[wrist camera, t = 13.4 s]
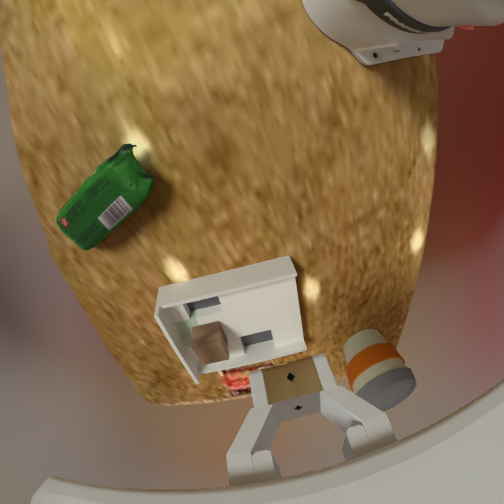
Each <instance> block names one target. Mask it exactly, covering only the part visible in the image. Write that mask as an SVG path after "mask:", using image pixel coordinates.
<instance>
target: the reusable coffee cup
mask: <svg viewBox="0 0 504 504" xmlns="http://www.w3.org/2000/svg"><path fill="white" fill-rule="evenodd" d="M343 353H344V357H345V360H346V364H347V368H346V372H347V376H348V380H349V384H350V388H351V390H352V391H353V392H354V394H356V395H357V396H359V397H360V398H362V399H363V400H365V401H367V402H368V403H370V404H371V405H373V406H375V407H376V408H378V409H379V410H381V411H382V412H384V411H386V410H388V409H390V408H392V407H394V406H396V405H397V404H399V403H400V402H402V401H403V400H404V399H406V398H407V397H408V396H409V395H410V394H411V393H412V392H413V391H414V389H415V387H416V380H415V378H414V375H413V373H412V370H411V369H409V368H407V367H406V365H405V362H404V359H403V358H402V357H401V356H400V354H399V353H398V352H397V350H396V349H395V348H394V347H393V346H392V344H390V343H388V342H387V341H386V340H385V339H384V337H383V336H382V335H381V334H380V332H379V331H378V330H376V329H366V330H362V331H360V332H358V333H356V334H355V335H353V336H352V337H351V338H349V339H348V341H347V342H346V343H345V345H344V347H343Z"/></svg>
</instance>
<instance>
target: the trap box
mask: <svg viewBox="0 0 504 504" xmlns="http://www.w3.org/2000/svg"><path fill="white" fill-rule="evenodd" d="M296 276H297V272H296V270H295V268H294V265H293V263H292V261H291V259H290V256H289V255H288V256H284V257H280V258H276V259H272V260H268V261H264V262H260V263H256V264H252V265H248V266H244V267H240V268H236V269H232V270H228V271H224V272H220V273H216V274H212V275H208V276H203V277H199V278H195V279H191V280H187V281H183V282H179V283H175V284H171V285H166V286H162V287H159V291H158V296H157V302H156V307H155V313H154V317H155V319H156V321H157V323H158V324H159V326H160V328H161V329H162V331H163V333H164V334H165V336H166V338H167V339H168V341H169V343H170V344H171V346H172V348H173V349H174V351H175V352H176V354H177V356H178V357H179V359H180V360H181V362H182V363H183V365H184V366H185V368H186V369H187V371H188V372H189V374H190V375H191V377H192V378H193V380H194V381H195V383H196V384H198V383H199V374H204V373H210V372H215V371H220V370H225V369H230V368H235V367H240V366H244V365H249V364H253V363H258V362H262V361H266V360H270V359H274V358H278V357H282V356H286V355H290V354H294V353H298V352H301V351H305V350H307V347H306V344H305V342H304V337H303V329H302V322H301V315H300V308H299V301H298V294H297V287H296V280H295V277H296ZM215 321H219V322H220V324H221V326H222V328H223V331H224V333H225V335H226V337H227V341H228V351H229V360H225V361H220V362H216V363H211V364H206V365H202V364H201V362H200V361H199V359H198V358H197V356H196V355H195V353H194V351H193V350H192V327H195V326H199V325H203V324H207V323H211V322H215Z"/></svg>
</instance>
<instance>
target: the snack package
mask: <svg viewBox="0 0 504 504" xmlns="http://www.w3.org/2000/svg"><path fill="white" fill-rule="evenodd" d="M134 146H136V145H132V144H123V146H122V147H121V148H120V149H119V150H118V151H117V152H116V153H115V154H114V155H113V156H111V157H110V158H109V159H107V160H106V161H104V162H103V163H102V164H101V165H100V166H99V167H98V168H97V169H96V170H95V171H94V172H93V173H92V174H91V175H90V176H89V178H88V179H87V180H86V181H85V182H84V183H83V184H82V186H81V187H80V188H79V189H78V191H77V192H76V193H75V194H74V195H73V196H72V198H71V199H70V200H69V201H68V202H67V203H66V204H65V205H64V207H63V208H62V209H61V210H60V212H59V214H58V216H57V225H58V226H59V228H60V229H61V231H62V232H63V233H64V234H65V235H66V236H68V237H69V238H70V239H71V240H72V241H73V242H74V243H75V244H77V245H78V246H79V247H80V248H81V249H83V250H89V249H91V248H93V247H95V246H96V245H97V244H98V243H99V242H101V241H102V240H103V239H104V238H105V237H106V236H107V235H108V234H109V233H110V232H112V231H113V230H114V229H115V228H116V227H117V226H119V225H120V224H121V223H122V222H123V221H125V220H126V219H127V218H128V217H129V216H130V215H131V214H133V213H134V212H135V211H136V210H137V209H138V208H139V207H140V205H141V204H142V203H143V202H144V201H145V199H146V198H147V197H148V195H149V194H150V192H151V190H152V188H153V185H154V178H153V176H152V175H150V174H148V173H147V172H146V171H144V170H143V169H142V168H141V166H140V165H139V163H138V161H137V160H136V158H135V156H134V154H133V152H132V150H133V147H134ZM136 147H137V146H136Z"/></svg>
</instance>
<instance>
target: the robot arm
mask: <svg viewBox="0 0 504 504" xmlns="http://www.w3.org/2000/svg"><path fill="white" fill-rule="evenodd" d="M302 2H303V5H304V8H305V10H306V12H307V14H308V15H309V17H310V18H311V20H312V21H313V22H314V24H315V25H316V26H317V27H318V28H319V29H320V30H321V31H322V32H323V33H324V34H326V35H327V36H328V37H330V38H331V39H333V40H334V41H336V42H338V43H339V44H341V45H343V46H345V47H346V48H348V49H349V50H350V51H351V52H352V54H353V55H354V56H355V57H356V58H357V60H358V61H359V62H360V63H362V64H363V65H366V66H370V65H374V64H378V63H383V62H388V61H392V60H397V59H403V58H408V57H414V56H420V55H427V54H433V53H439V52H441V51H442V48H443V44H444V39H450V38H451V37H452V35H453V32H454V26H457V27H459V28H461V29H467V30H472V29H474V26H473V25H491V26H493V25H498V24H501V23H503V22H504V0H302ZM373 53H375V55H376V58H374V56H373ZM249 379H250V385H251V391H252V397H253V403H254V408H251V409H250V411H249V413H248V415H247V417H246V419H245V421H244V423H243V425H242V427H241V428H240V431H239V432H238V434H237V436H236V438H235V440H234V442H233V444H232V446H231V447H230V449H229V451H228V453H227V455H226V458H227V467H228V476H229V485H230V486H226V487H216V488H201V489H172V490H171V489H139V488H125V487H115V486H106V485H99V484H91V483H86V482H80V481H74V480H69V479H65V478H60V477H50V478H48V479H47V480H46V481H45V482H44V483H43V484H42V485H41V486H40V487H39V489H38V490H37V491H36V492H35V494H34V495H33V497H32V500H31V503H30V504H504V379H503V380H501V381H500V382H499V383H497V384H496V385H495V386H493V387H492V388H490V389H489V390H488V391H486V392H485V393H483V394H482V395H480V396H479V397H477V398H476V399H474V400H473V401H472V402H470V403H468V404H467V405H465V406H463V407H462V408H460V409H458V410H457V411H455V412H454V413H452V414H450V415H448V416H446V417H445V418H443V419H441V420H439V421H438V422H436V423H434V424H432V425H430V426H428V427H426V428H424V429H422V430H420V431H418V432H416V433H414V434H412V435H410V436H408V437H406V438H403V439H401V440H399V441H397V439H396V437H395V434H394V432H393V430H392V427H391V425H390V422H389V420H388V418H387V416H386V414H385V413H384V412H382V411H381V410H379V409H378V408H376V407H375V406H373V405H371V404H370V403H368V402H367V401H365V400H363V399H362V398H360V397H359V396H357V395H356V394H354V393H353V392H351V391H350V390H348V389H346V388H345V387H344V386H342V385H339V386H337V384H336V381H335V378H334V375H333V373H332V370H331V368H330V365H329V363H328V360H327V358H326V355H325V354H324V353H320V354H317V355H314V356H309V357H306V358H303V359H299V360H296V361H292V362H288V363H286V364H282V365H278V366H273V367H269V368H265V369H260V370H255V371H251V372H249ZM317 412H321V413H322V414H323V415H324V416H325V417H327V418H328V419H329V420H330V421H331V422H333V423H334V424H335V425H336V426H338V427H339V428H340V429H341V430H342V431H344V432H345V433H346V435H345V440H344V444H343V449H342V451H343V454H344V457H345V460H346V461H344V462H341V463H338V464H335V465H331V466H328V467H324V468H321V469H317V470H314V471H310V472H306V473H302V474H298V475H293V476H289V477H285V478H282V476H281V471H280V467H279V465H278V464H277V462H276V460H275V458H274V457H273V455H272V453H271V452H270V451H269V450H270V448H271V445H272V443H273V440H274V438H275V435H276V433H277V430H278V427H279V425H280V422H283V421H287V420H291V419H294V418H298V417H302V416H306V415H310V414H314V413H317Z"/></svg>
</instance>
